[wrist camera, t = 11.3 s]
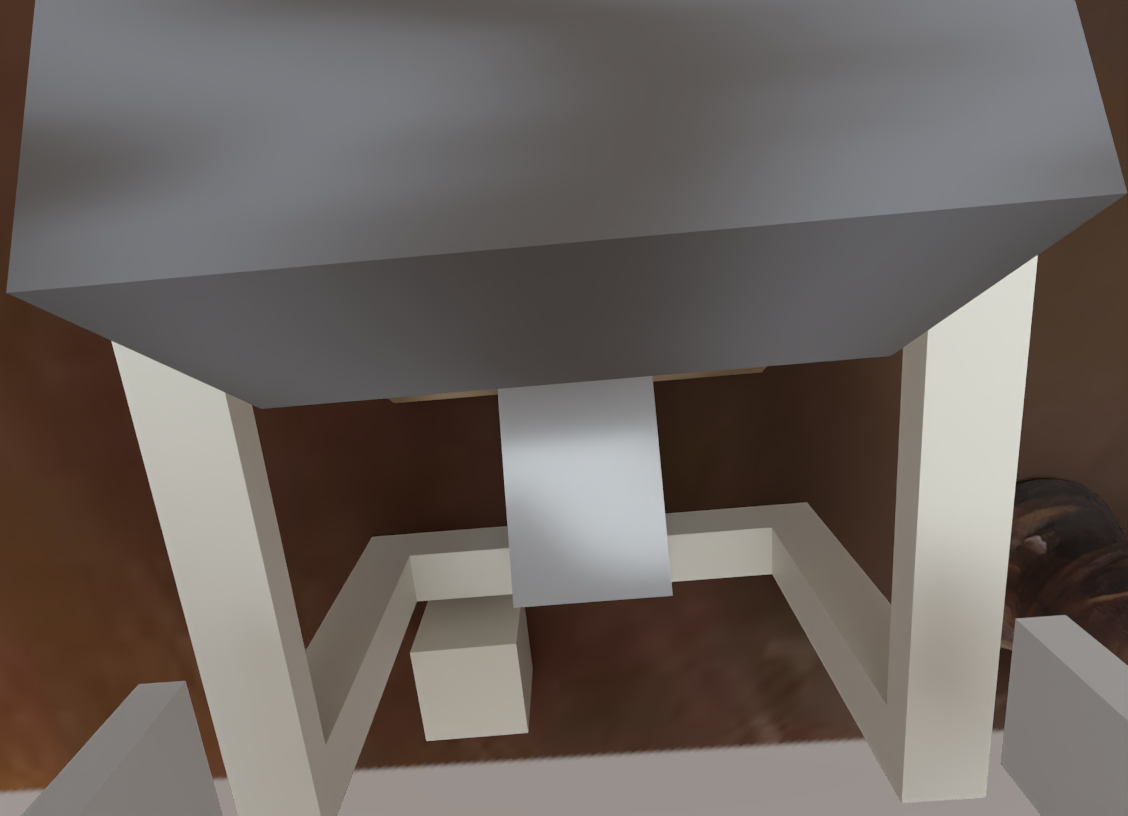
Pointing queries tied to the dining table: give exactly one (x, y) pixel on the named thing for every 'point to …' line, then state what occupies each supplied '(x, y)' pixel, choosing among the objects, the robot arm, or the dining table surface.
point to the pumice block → (473, 668)
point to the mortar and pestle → (1067, 563)
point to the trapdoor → (540, 183)
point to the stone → (584, 492)
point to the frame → (696, 551)
